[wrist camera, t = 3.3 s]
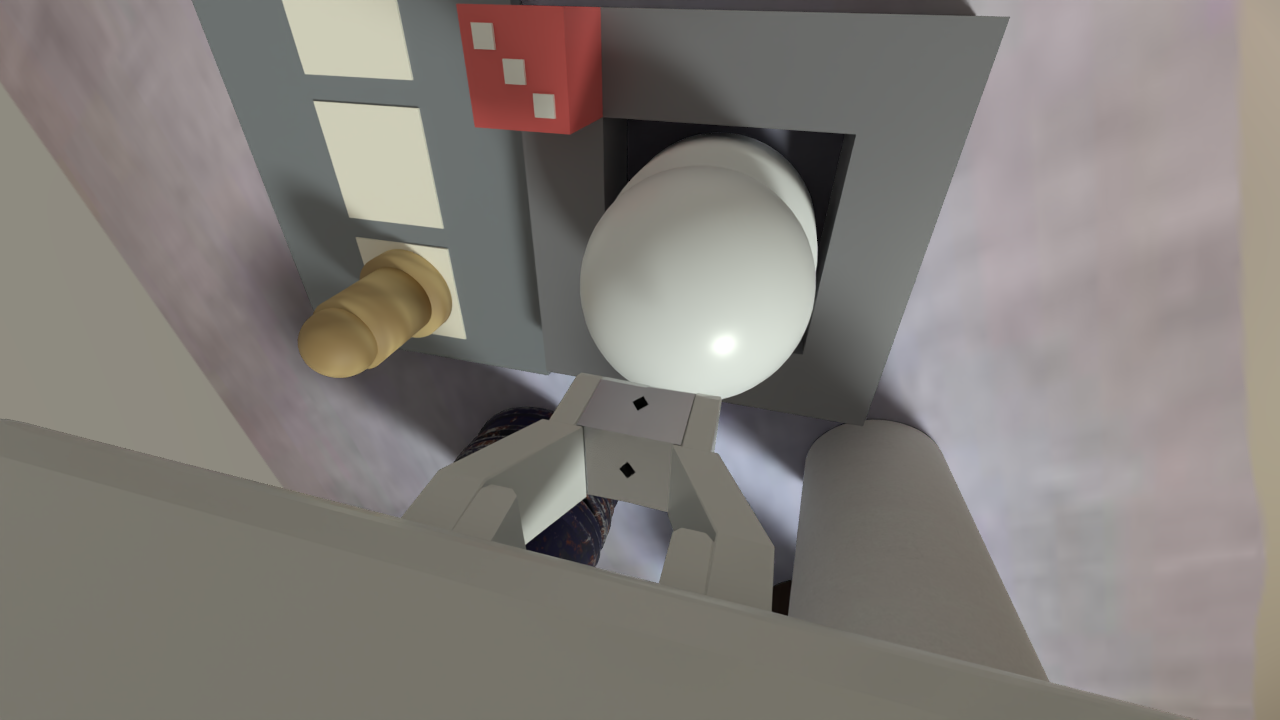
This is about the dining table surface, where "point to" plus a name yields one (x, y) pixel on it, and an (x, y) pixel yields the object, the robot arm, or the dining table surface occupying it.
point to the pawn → (375, 315)
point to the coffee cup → (900, 551)
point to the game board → (385, 158)
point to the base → (747, 97)
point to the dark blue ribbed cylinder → (578, 527)
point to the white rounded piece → (703, 267)
